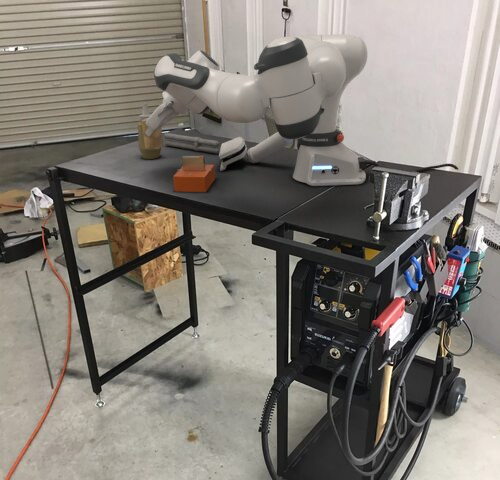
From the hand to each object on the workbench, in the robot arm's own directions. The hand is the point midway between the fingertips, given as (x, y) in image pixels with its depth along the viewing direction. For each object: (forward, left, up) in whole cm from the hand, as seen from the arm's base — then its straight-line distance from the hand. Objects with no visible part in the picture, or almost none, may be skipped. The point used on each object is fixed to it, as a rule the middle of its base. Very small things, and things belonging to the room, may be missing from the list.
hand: (150, 132), depth 170 cm
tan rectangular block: (-17, +12, -8) cm, 22 cm away
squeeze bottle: (+7, -18, -13) cm, 23 cm away
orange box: (-17, +12, -13) cm, 24 cm away
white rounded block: (-20, -10, -9) cm, 24 cm away
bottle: (-30, -13, -11) cm, 34 cm away
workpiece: (-1, 0, -5) cm, 5 cm away
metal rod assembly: (-5, -29, -13) cm, 32 cm away
